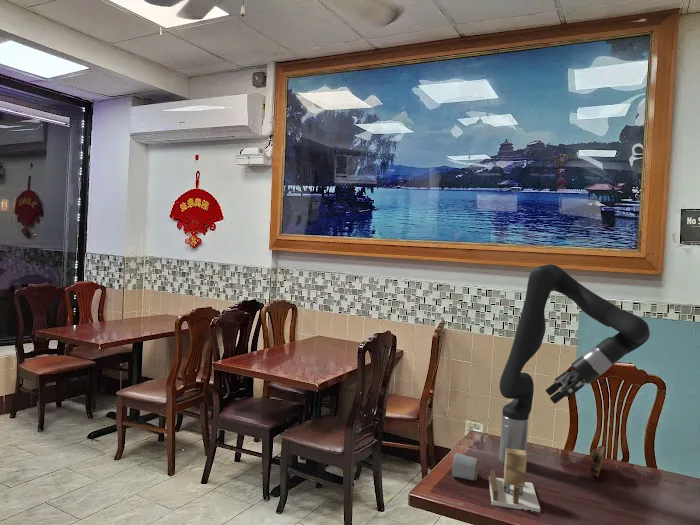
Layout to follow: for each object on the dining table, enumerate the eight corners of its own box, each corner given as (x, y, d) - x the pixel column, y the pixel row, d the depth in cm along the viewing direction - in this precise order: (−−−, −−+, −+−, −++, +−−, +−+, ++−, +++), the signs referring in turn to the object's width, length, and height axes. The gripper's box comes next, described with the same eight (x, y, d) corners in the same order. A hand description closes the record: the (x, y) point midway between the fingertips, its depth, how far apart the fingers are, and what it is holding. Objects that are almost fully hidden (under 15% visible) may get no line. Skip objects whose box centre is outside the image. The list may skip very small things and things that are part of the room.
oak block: (522, 481, 165) (525, 450, 164) (524, 486, 161) (527, 455, 161) (503, 478, 166) (505, 447, 166) (504, 483, 162) (507, 452, 162)
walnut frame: (512, 480, 171) (513, 466, 171) (518, 504, 156) (519, 488, 156) (490, 477, 173) (491, 463, 173) (493, 500, 157) (494, 484, 157)
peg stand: (531, 486, 171) (532, 483, 171) (540, 512, 154) (540, 508, 154) (488, 480, 173) (488, 476, 173) (491, 504, 157) (492, 501, 157)
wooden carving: (589, 464, 192) (592, 438, 191) (603, 467, 189) (605, 441, 189) (586, 481, 177) (589, 453, 177) (601, 485, 175) (603, 456, 174)
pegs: (521, 490, 165) (522, 480, 165) (522, 496, 161) (523, 486, 161) (503, 487, 166) (504, 478, 166) (504, 493, 162) (505, 483, 162)
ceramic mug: (476, 485, 169) (478, 462, 169) (451, 480, 172) (453, 457, 172) (478, 472, 179) (480, 450, 179) (455, 467, 182) (456, 446, 182)
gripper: (577, 350, 166) (537, 381, 169) (589, 360, 152) (545, 394, 155) (594, 368, 165) (553, 399, 168) (606, 380, 151) (562, 413, 154)
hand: (549, 397), depth 161 cm, fingers open, 8 cm apart
